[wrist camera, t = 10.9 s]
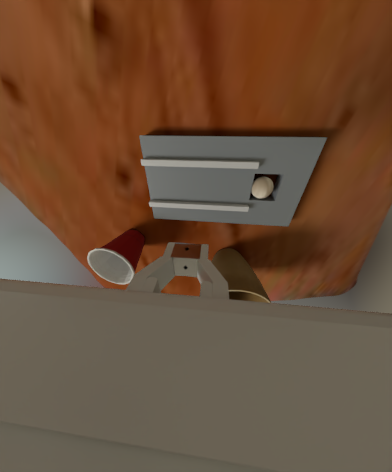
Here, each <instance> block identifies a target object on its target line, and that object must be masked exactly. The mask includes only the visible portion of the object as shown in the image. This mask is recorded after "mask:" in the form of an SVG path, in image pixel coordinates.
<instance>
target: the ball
mask: <svg viewBox="0 0 392 472" xmlns="http://www.w3.org/2000/svg"><path fill="white" fill-rule="evenodd" d="M273 188H274V185H273V182H272V180H271V179H270V178H268V177H259V178H257V179H256V180H254V182H253V184H252V189H251V193H252V194H253V196H255V197H256V198H265V197H267V196H269V195H270V194H271V193H272V191H273Z"/></svg>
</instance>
